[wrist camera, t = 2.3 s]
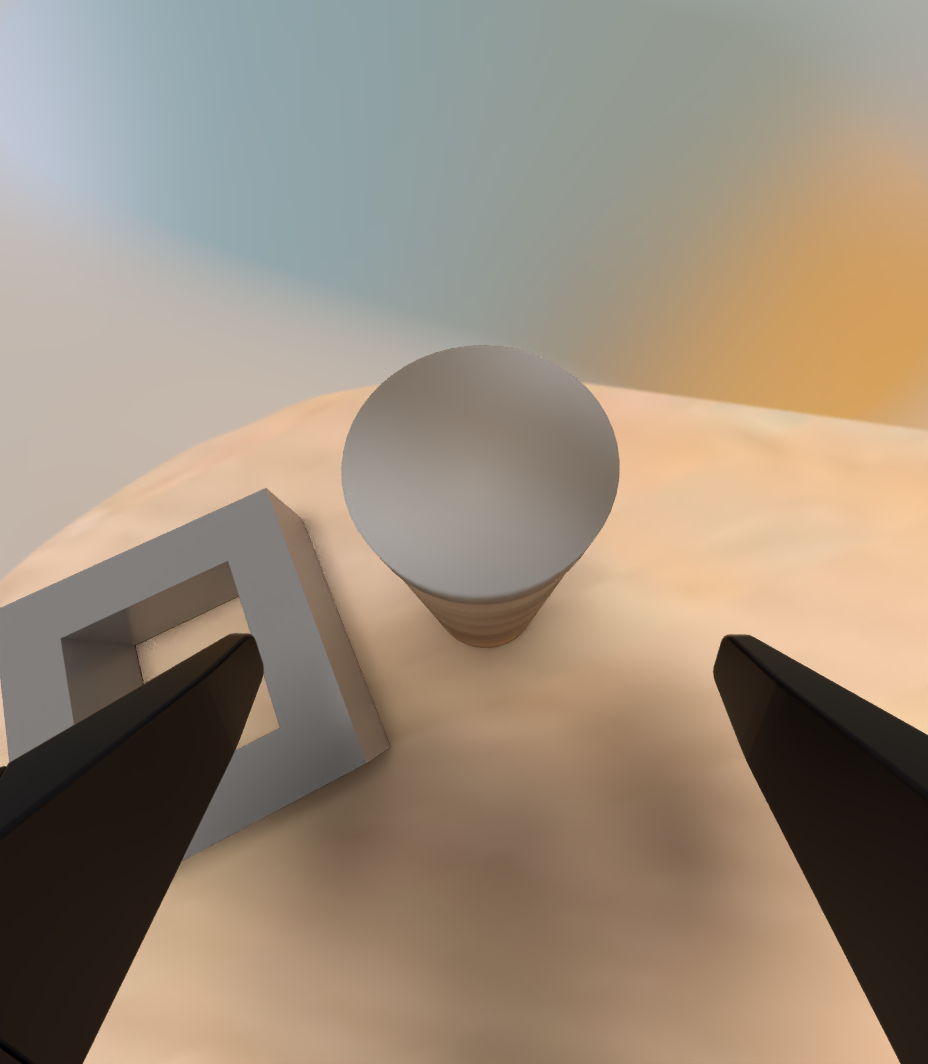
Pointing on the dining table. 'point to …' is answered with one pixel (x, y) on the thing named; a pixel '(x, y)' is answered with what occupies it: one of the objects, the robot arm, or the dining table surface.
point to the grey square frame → (177, 596)
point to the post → (481, 483)
